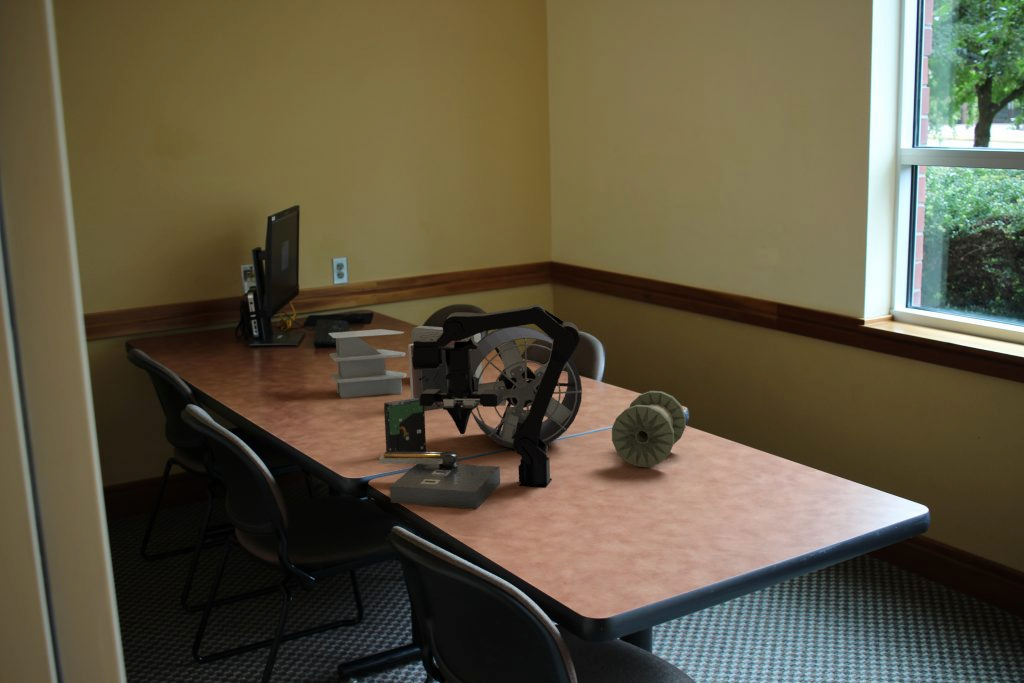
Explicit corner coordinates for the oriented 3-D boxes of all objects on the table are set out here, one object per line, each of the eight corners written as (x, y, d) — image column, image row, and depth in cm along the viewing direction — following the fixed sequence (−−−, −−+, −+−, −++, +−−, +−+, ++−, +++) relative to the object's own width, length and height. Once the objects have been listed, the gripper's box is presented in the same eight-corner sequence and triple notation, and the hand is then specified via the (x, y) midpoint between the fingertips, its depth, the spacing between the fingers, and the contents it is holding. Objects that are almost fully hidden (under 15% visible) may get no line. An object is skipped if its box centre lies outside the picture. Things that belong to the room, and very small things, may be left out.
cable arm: (455, 468, 231) (455, 456, 230) (379, 467, 233) (378, 455, 232) (459, 462, 235) (458, 450, 234) (384, 461, 237) (383, 450, 237)
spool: (672, 469, 239) (672, 408, 236) (612, 464, 244) (611, 404, 241) (685, 449, 254) (685, 392, 251) (628, 445, 259) (627, 389, 257)
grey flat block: (500, 483, 232) (499, 465, 232) (476, 509, 215) (475, 490, 215) (420, 478, 238) (419, 460, 237) (390, 503, 221) (389, 484, 220)
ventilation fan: (470, 456, 254) (466, 340, 249) (462, 436, 272) (458, 329, 267) (585, 447, 259) (583, 334, 253) (570, 429, 277) (567, 322, 271)
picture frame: (460, 407, 305) (458, 338, 301) (464, 408, 303) (461, 339, 299) (411, 415, 297) (407, 344, 294) (414, 417, 295) (411, 345, 291)
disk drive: (422, 451, 259) (420, 396, 257) (427, 454, 257) (424, 398, 254) (385, 458, 254) (382, 402, 252) (389, 461, 252) (386, 404, 249)
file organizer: (309, 397, 325) (304, 332, 321) (412, 386, 337) (409, 322, 333) (322, 415, 301) (318, 344, 297) (434, 402, 313) (430, 334, 309)
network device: (486, 388, 329) (484, 329, 325) (471, 394, 321) (469, 333, 318) (425, 381, 342) (422, 324, 339) (409, 387, 335) (406, 328, 331)
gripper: (506, 360, 233) (509, 425, 236) (430, 360, 238) (435, 424, 241) (494, 371, 223) (498, 438, 226) (415, 370, 227) (420, 436, 230)
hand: (462, 433), depth 231 cm, fingers closed
